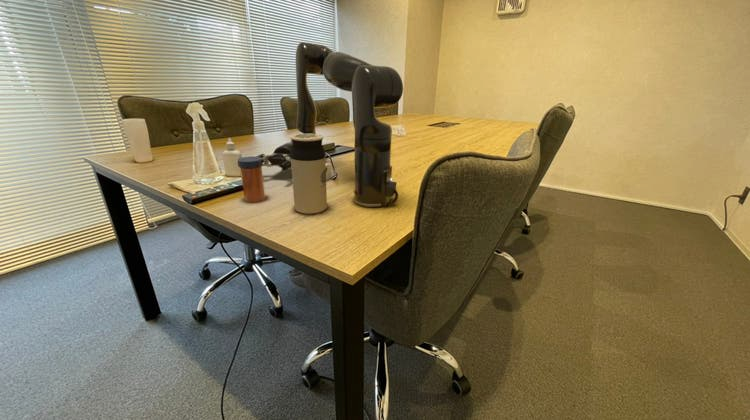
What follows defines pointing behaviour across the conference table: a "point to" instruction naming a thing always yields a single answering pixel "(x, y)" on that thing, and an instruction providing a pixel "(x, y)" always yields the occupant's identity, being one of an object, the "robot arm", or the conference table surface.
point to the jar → (253, 184)
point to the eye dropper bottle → (231, 160)
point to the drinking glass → (138, 139)
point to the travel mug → (308, 173)
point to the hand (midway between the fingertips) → (268, 167)
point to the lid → (249, 162)
